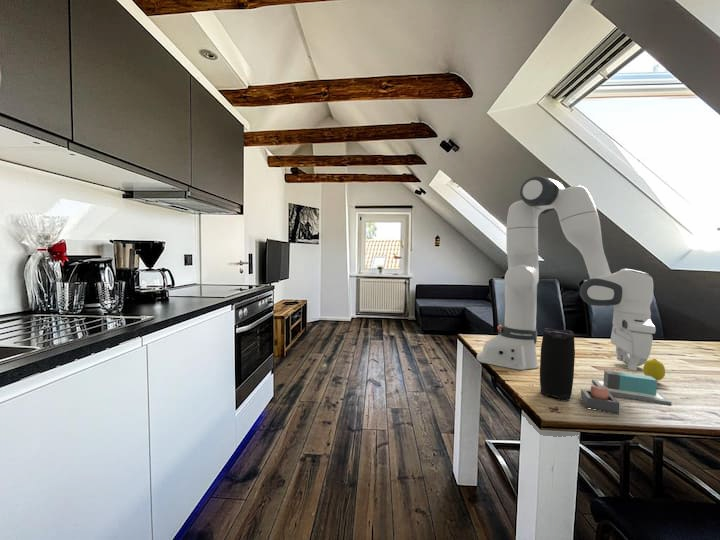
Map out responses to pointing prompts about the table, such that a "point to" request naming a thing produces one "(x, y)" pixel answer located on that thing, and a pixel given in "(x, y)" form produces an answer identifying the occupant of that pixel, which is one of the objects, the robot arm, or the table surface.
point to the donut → (627, 359)
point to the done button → (599, 392)
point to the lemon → (654, 369)
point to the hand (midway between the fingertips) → (625, 364)
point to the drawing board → (634, 394)
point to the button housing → (600, 402)
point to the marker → (630, 382)
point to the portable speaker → (557, 363)
